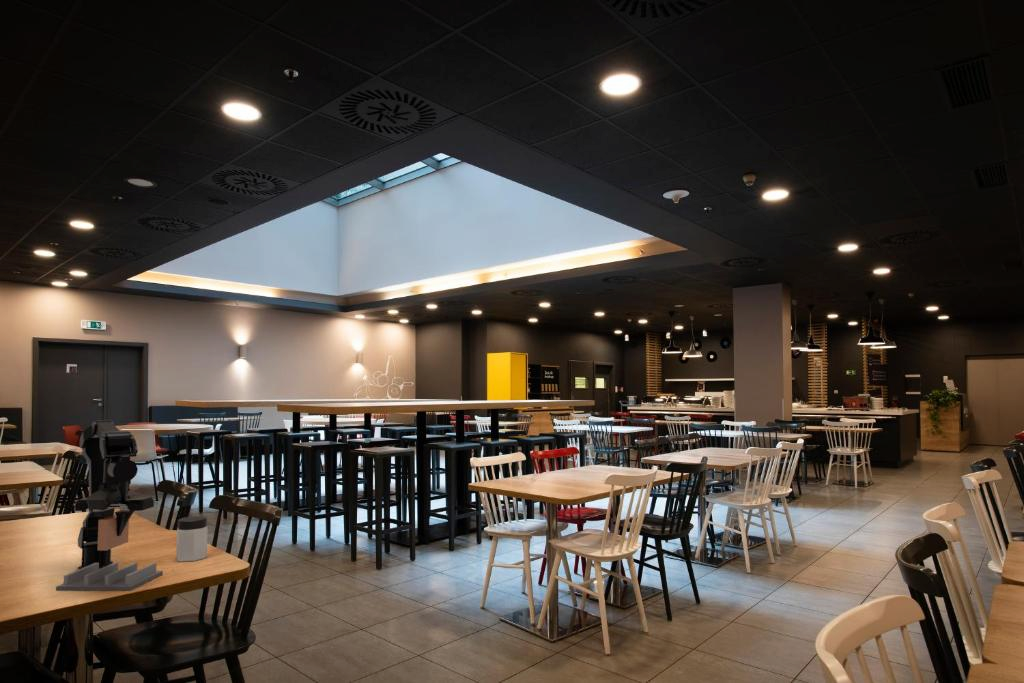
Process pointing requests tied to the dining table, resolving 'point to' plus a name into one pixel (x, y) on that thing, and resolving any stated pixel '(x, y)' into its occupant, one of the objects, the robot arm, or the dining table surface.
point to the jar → (191, 538)
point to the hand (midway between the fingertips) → (113, 535)
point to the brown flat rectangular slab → (111, 533)
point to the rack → (109, 577)
